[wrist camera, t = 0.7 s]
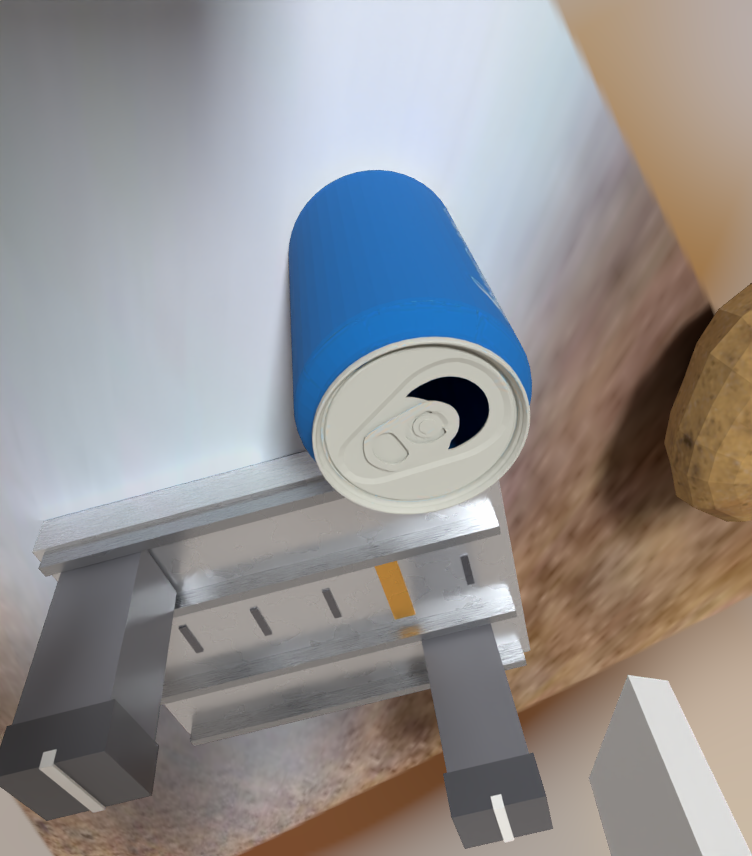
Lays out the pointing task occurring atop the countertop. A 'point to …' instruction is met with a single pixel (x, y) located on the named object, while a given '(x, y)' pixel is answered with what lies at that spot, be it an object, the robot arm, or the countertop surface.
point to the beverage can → (400, 350)
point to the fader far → (483, 741)
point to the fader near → (93, 691)
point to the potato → (716, 417)
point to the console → (300, 590)
